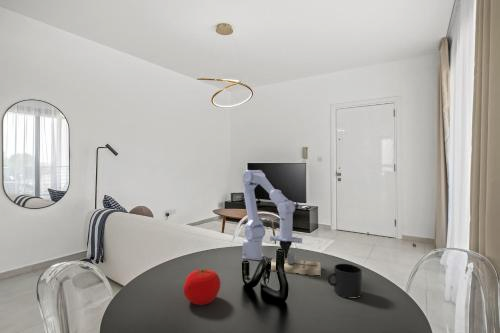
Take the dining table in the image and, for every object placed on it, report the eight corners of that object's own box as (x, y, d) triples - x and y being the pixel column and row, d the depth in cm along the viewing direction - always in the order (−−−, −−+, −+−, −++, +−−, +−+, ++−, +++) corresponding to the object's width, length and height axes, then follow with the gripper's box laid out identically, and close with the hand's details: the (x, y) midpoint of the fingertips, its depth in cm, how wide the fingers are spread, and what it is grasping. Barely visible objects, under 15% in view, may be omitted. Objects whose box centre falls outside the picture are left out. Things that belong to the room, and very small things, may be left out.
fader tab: (287, 263, 117) (287, 255, 117) (288, 260, 121) (288, 252, 121) (294, 264, 116) (294, 256, 116) (295, 261, 120) (295, 253, 121)
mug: (323, 286, 101) (324, 263, 101) (355, 287, 101) (355, 263, 101) (331, 298, 92) (331, 272, 92) (365, 299, 91) (366, 273, 92)
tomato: (176, 305, 85) (177, 273, 85) (198, 290, 96) (199, 261, 96) (206, 314, 80) (206, 279, 80) (225, 296, 91) (226, 266, 92)
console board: (268, 270, 116) (269, 264, 116) (272, 262, 126) (272, 257, 126) (320, 276, 111) (320, 270, 111) (320, 267, 120) (320, 262, 121)
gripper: (268, 228, 117) (268, 259, 117) (301, 230, 114) (301, 262, 114) (271, 225, 124) (270, 254, 124) (302, 227, 121) (302, 257, 121)
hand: (285, 257), depth 119 cm, fingers closed
